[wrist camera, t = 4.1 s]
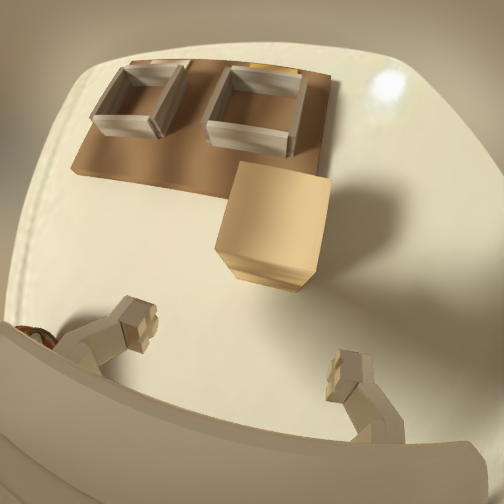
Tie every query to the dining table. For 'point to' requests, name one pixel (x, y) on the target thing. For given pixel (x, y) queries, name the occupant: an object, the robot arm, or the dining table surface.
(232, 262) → the wooden plug
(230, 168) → the socket board
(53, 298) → the dining table surface
